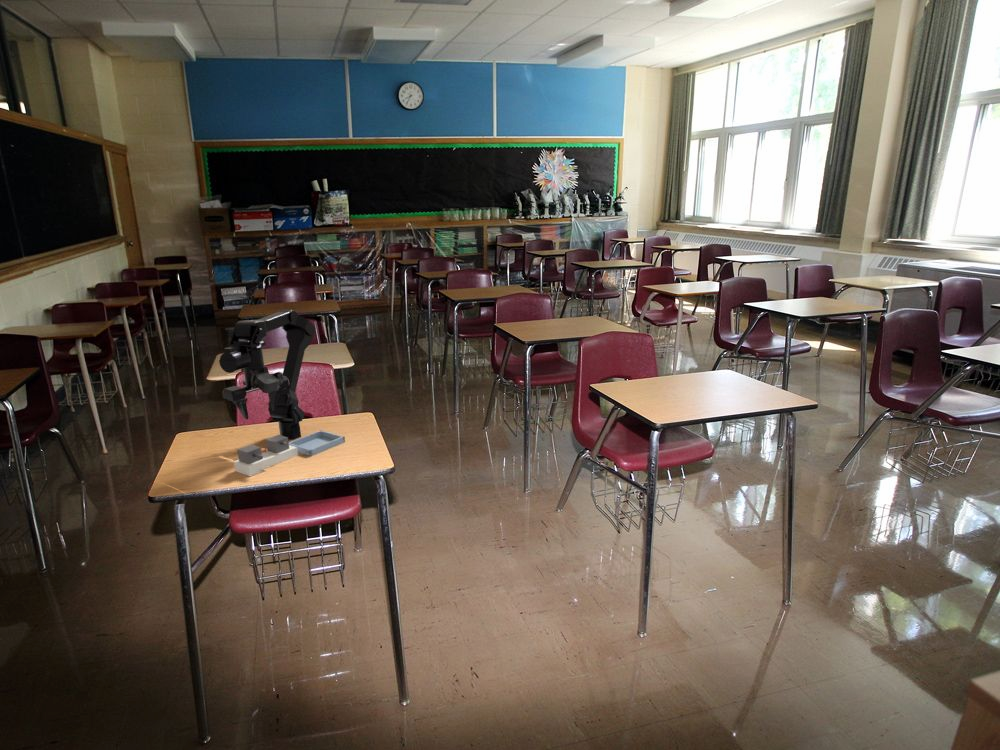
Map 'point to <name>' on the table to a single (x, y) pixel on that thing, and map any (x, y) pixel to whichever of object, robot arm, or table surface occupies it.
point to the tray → (317, 442)
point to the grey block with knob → (277, 444)
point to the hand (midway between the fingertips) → (260, 414)
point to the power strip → (260, 459)
